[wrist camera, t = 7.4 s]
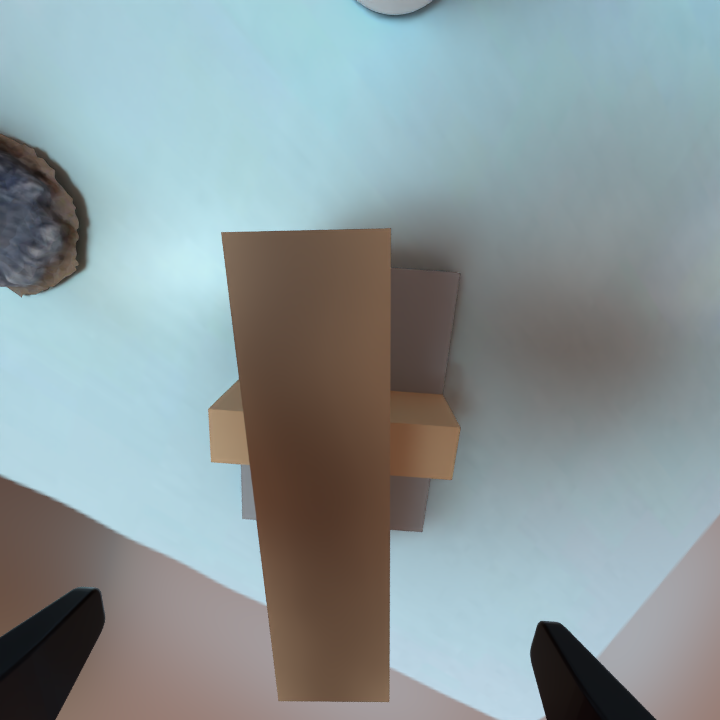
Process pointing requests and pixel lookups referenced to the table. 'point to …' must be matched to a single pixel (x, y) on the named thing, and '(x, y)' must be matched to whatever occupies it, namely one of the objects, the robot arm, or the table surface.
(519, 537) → the table surface
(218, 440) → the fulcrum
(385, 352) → the batten
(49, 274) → the antler
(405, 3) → the drinking glass
